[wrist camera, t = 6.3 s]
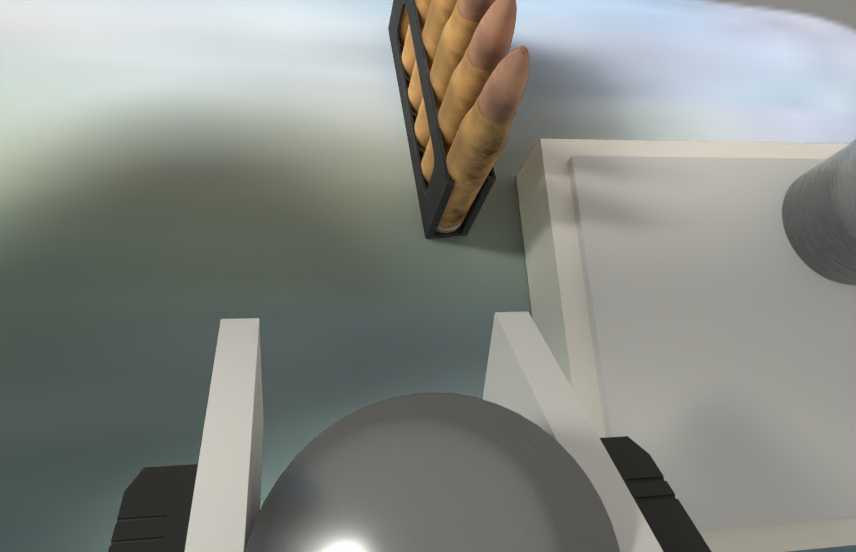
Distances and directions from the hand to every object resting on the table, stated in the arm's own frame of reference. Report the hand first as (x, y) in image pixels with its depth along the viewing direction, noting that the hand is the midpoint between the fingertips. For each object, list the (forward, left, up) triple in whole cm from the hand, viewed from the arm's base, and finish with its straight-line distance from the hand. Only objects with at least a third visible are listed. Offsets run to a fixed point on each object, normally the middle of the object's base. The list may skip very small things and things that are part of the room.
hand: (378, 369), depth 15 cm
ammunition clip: (+4, +13, -13) cm, 19 cm away
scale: (+16, +3, -12) cm, 20 cm away
